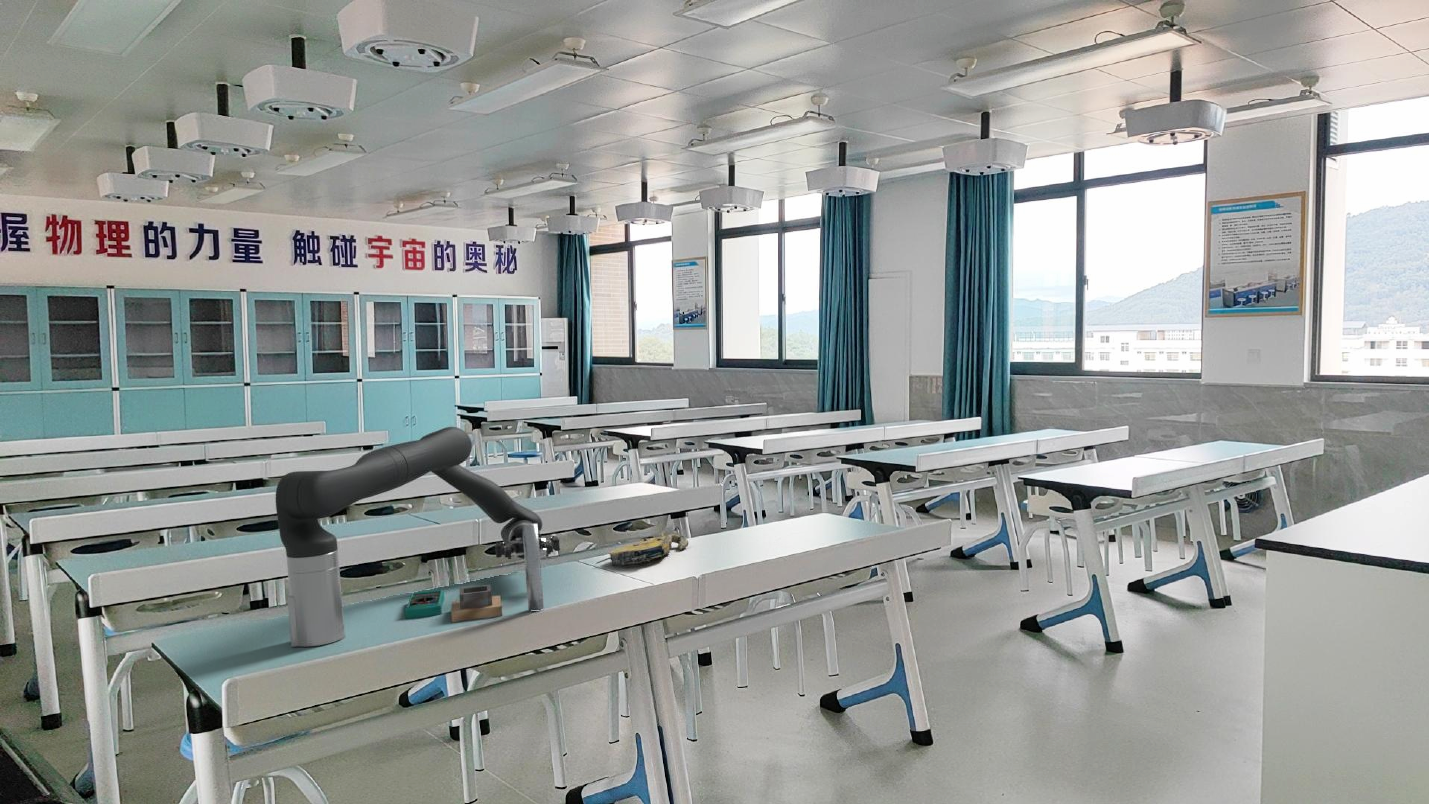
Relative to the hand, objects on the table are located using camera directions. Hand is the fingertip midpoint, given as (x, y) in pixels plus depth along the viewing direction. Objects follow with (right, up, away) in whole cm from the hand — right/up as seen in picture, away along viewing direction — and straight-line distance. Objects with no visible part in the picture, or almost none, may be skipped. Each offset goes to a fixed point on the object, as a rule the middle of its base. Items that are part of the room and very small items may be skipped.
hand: (529, 552), depth 207 cm
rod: (+4, -10, -11) cm, 15 cm away
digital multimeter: (-22, -12, -3) cm, 25 cm away
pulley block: (+25, -8, +36) cm, 44 cm away
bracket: (-9, -11, -10) cm, 18 cm away
